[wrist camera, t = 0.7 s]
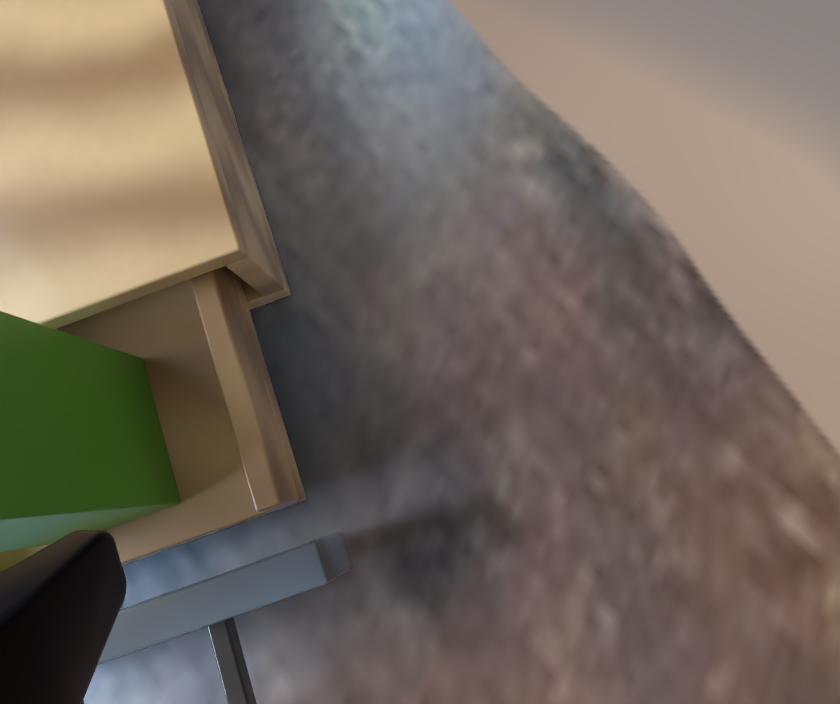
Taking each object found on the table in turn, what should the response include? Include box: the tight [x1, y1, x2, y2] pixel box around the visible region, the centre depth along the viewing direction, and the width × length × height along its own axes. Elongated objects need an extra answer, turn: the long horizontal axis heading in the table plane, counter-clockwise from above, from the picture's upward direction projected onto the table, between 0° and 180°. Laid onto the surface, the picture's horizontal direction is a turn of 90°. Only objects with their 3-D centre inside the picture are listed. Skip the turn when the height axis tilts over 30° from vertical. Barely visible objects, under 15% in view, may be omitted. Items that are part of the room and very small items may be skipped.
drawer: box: [0, 266, 352, 704], centre depth 21 cm, size 19×12×3 cm, turn 19°
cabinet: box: [0, 0, 291, 329], centre depth 24 cm, size 16×14×5 cm
